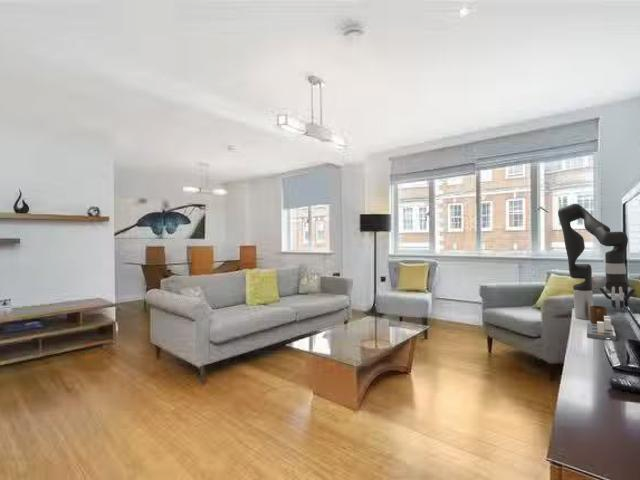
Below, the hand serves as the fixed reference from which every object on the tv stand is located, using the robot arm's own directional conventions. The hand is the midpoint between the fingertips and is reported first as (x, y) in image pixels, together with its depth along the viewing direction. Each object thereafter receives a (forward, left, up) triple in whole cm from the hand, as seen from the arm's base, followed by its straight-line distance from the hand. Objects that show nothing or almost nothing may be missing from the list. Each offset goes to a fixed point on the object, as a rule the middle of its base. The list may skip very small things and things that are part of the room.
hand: (617, 307), depth 163 cm
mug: (-30, 0, -15) cm, 34 cm away
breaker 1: (-2, -7, -13) cm, 14 cm away
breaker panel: (-9, -5, -15) cm, 18 cm away
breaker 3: (-9, -2, -13) cm, 15 cm away
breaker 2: (-17, 0, -13) cm, 21 cm away
